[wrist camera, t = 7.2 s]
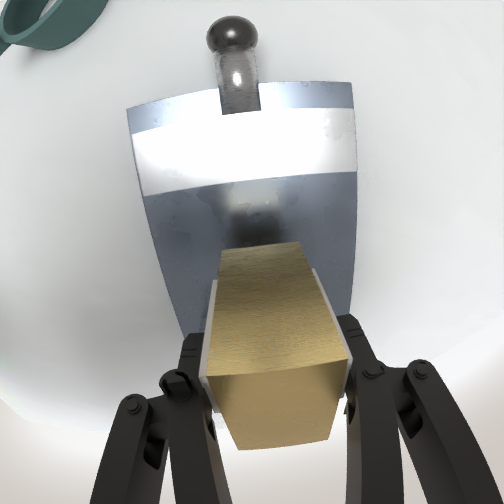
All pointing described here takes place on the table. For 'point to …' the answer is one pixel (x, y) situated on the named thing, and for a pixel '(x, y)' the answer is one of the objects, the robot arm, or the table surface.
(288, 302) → the brass block
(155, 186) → the free jaw
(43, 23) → the bracket
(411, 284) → the table surface
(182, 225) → the vise
